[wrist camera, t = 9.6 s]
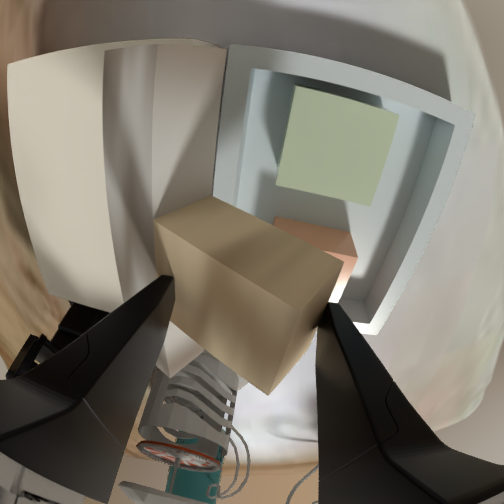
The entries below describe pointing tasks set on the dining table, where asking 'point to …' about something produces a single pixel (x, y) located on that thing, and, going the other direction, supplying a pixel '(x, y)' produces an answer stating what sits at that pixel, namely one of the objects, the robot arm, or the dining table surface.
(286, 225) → the terracotta tile
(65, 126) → the cream riser block
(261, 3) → the dining table surface
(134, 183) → the scraper
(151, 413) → the french press
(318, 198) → the box
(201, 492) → the beverage bottle
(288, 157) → the sage tile
